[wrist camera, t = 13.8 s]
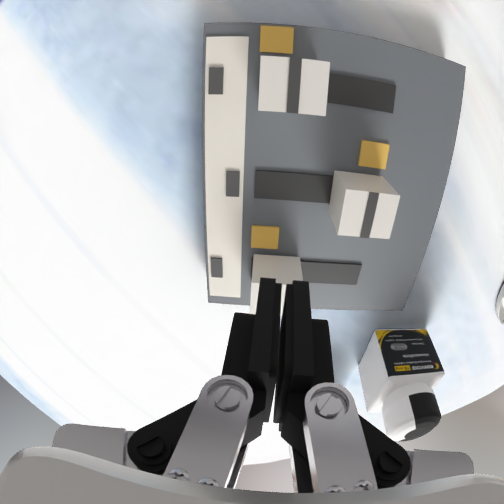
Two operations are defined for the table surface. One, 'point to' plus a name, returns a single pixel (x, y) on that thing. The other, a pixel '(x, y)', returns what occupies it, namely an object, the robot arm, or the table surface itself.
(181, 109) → the table surface
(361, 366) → the medicine bottle
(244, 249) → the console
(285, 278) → the switch
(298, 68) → the switch
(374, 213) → the switch
